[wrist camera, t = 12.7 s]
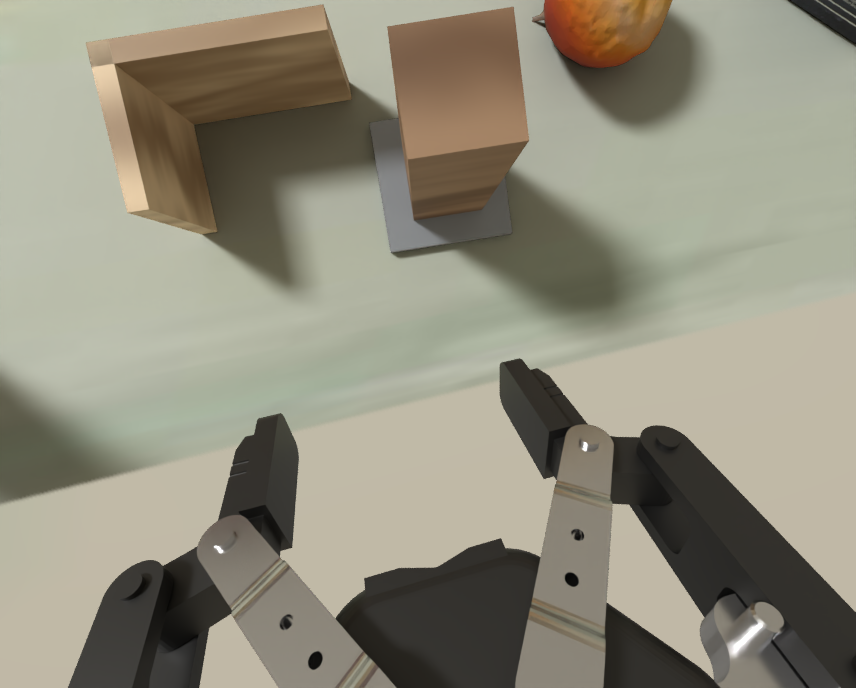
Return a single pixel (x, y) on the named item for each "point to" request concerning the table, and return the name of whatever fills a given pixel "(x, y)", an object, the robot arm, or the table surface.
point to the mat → (431, 230)
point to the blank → (458, 108)
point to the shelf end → (204, 98)
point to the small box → (834, 14)
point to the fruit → (603, 28)
